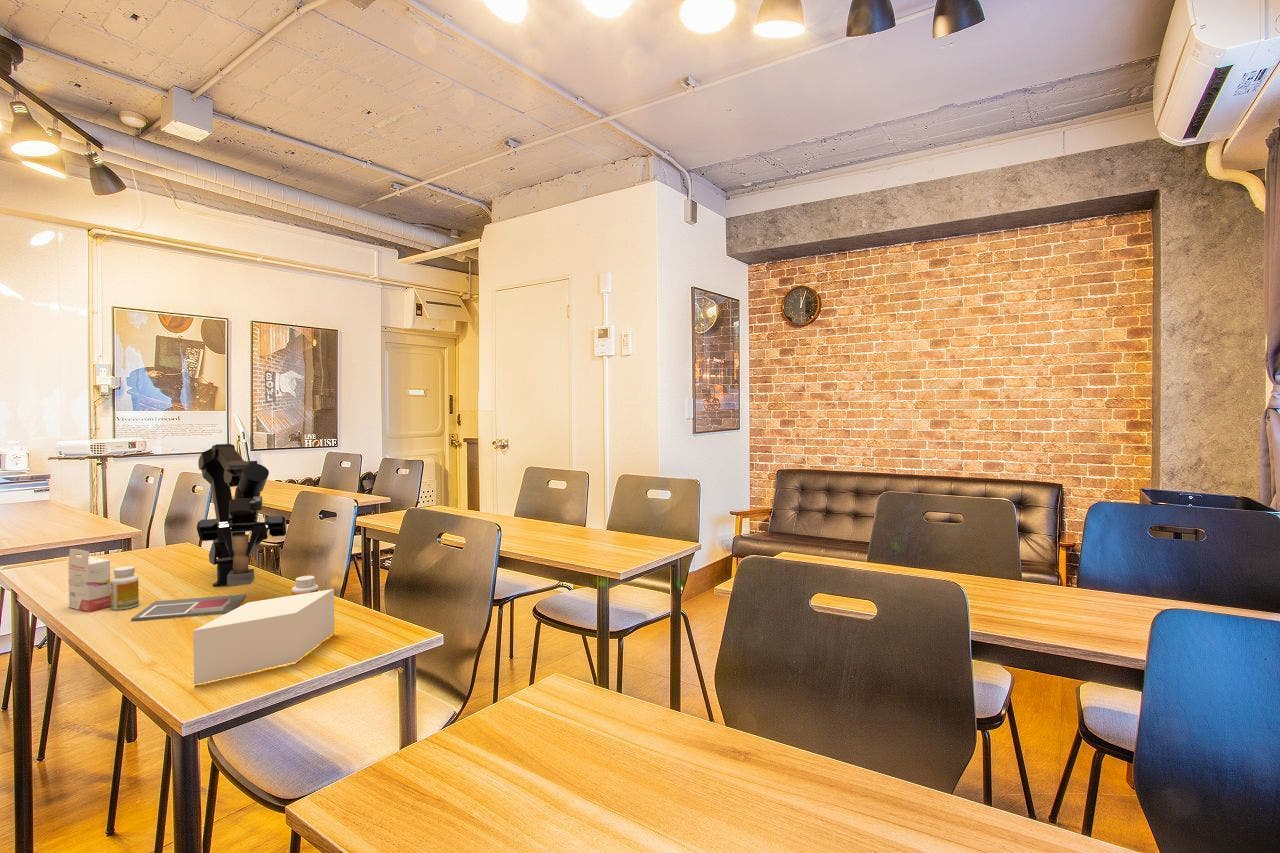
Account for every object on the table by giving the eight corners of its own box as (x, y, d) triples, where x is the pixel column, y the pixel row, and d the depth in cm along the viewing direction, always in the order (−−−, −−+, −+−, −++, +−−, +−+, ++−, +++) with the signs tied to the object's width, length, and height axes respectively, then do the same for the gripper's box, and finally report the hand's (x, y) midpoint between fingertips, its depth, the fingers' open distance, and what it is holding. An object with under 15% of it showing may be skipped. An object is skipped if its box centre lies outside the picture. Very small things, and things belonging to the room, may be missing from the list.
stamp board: (155, 603, 160) (155, 596, 159) (246, 596, 166) (246, 589, 166) (131, 621, 146) (131, 613, 146) (231, 612, 153) (230, 605, 153)
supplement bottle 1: (144, 604, 159) (143, 565, 159) (125, 610, 154) (124, 571, 153) (124, 603, 160) (124, 565, 159) (104, 610, 154) (104, 570, 154)
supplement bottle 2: (311, 625, 144) (311, 581, 144) (286, 625, 144) (286, 581, 144) (323, 617, 150) (322, 574, 150) (299, 617, 150) (298, 574, 150)
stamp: (230, 580, 157) (230, 534, 156) (254, 578, 159) (253, 533, 158) (227, 586, 152) (226, 538, 152) (251, 583, 154) (251, 537, 154)
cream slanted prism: (169, 680, 116) (169, 624, 115) (311, 630, 142) (311, 584, 142) (219, 695, 110) (218, 637, 109) (358, 640, 136) (357, 593, 136)
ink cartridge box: (112, 606, 157) (111, 547, 157) (88, 612, 152) (87, 551, 152) (91, 602, 160) (90, 544, 160) (67, 608, 156) (66, 548, 155)
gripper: (197, 487, 154) (187, 541, 145) (285, 484, 162) (281, 535, 152) (205, 513, 162) (195, 567, 152) (288, 509, 170) (284, 560, 160)
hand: (239, 556), depth 154 cm, fingers closed on stamp, 3 cm apart
